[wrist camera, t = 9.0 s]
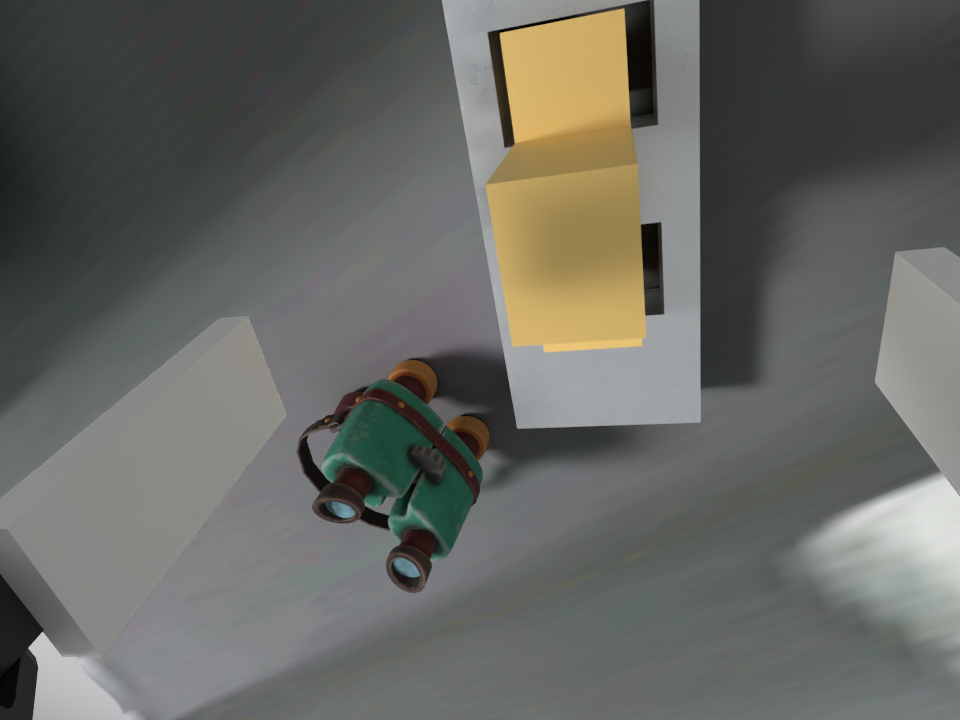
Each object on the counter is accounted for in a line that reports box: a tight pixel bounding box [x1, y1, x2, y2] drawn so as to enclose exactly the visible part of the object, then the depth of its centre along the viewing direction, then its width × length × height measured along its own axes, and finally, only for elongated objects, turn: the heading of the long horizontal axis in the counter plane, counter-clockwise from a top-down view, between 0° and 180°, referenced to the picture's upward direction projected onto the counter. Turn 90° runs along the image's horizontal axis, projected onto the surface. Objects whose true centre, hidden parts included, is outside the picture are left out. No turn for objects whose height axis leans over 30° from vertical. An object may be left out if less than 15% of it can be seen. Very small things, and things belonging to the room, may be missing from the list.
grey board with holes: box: [442, 0, 701, 429], centre depth 26 cm, size 9×24×3 cm, turn 10°
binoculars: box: [297, 360, 490, 593], centre depth 32 cm, size 9×11×10 cm
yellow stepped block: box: [486, 9, 646, 352], centre depth 22 cm, size 12×4×12 cm, turn 10°
